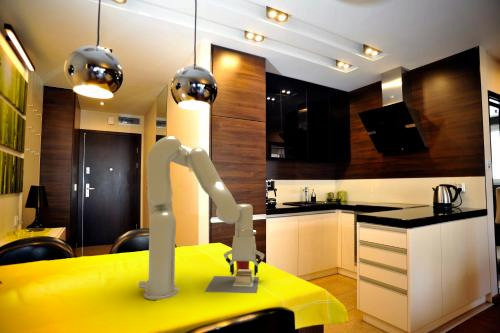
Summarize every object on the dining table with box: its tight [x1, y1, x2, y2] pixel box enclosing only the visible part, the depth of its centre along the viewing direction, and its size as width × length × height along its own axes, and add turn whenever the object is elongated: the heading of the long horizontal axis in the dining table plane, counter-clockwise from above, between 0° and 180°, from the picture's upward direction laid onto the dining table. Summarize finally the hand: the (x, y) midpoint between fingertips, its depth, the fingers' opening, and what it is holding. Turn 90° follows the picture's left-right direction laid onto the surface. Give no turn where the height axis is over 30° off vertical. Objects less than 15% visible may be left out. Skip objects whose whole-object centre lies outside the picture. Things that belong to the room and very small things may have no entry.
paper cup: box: [235, 261, 250, 272], centre depth 128 cm, size 8×8×14 cm
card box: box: [235, 269, 253, 285], centre depth 115 cm, size 9×6×4 cm, turn 175°
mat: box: [204, 275, 260, 294], centre depth 112 cm, size 20×18×1 cm
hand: (243, 274), depth 115 cm, fingers open, 9 cm apart
